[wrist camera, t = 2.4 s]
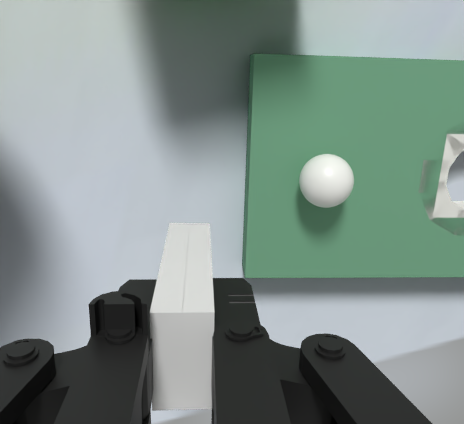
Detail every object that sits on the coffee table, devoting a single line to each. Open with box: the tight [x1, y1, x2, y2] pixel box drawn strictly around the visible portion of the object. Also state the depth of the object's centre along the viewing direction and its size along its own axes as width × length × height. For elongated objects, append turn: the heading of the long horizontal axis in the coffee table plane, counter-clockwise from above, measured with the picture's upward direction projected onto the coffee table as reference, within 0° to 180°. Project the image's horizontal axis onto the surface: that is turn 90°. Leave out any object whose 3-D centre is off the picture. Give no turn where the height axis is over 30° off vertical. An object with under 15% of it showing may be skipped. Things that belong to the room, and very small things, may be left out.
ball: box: [299, 154, 354, 208], centre depth 30 cm, size 4×4×4 cm
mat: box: [242, 53, 464, 278], centre depth 33 cm, size 24×16×2 cm, turn 89°
